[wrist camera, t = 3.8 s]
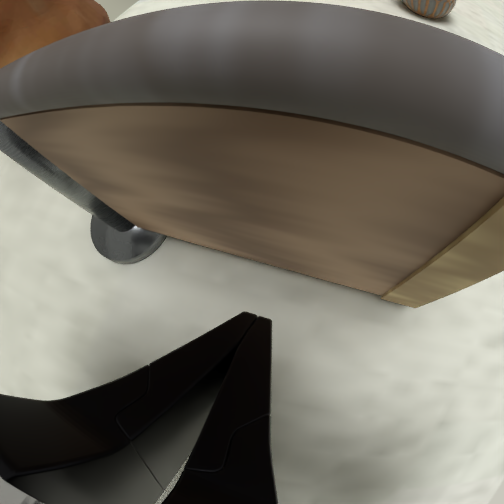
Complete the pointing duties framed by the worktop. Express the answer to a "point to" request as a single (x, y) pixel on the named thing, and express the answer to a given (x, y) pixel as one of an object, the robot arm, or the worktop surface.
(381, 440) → the worktop surface
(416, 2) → the vase
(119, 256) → the hinge post
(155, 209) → the gate leaf
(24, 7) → the butternut squash
